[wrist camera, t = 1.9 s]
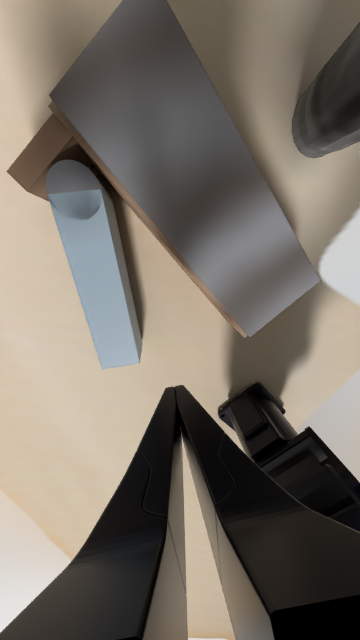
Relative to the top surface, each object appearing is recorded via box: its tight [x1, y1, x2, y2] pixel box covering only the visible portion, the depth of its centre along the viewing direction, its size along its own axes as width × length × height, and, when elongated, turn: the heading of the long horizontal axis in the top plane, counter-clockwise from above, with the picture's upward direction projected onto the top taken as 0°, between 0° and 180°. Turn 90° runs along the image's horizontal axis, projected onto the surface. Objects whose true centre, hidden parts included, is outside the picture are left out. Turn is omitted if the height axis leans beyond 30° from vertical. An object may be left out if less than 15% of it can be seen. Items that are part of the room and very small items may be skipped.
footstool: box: [7, 0, 320, 338], centre depth 14 cm, size 18×11×5 cm, turn 42°
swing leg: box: [46, 160, 142, 369], centre depth 14 cm, size 14×3×4 cm, turn 7°
